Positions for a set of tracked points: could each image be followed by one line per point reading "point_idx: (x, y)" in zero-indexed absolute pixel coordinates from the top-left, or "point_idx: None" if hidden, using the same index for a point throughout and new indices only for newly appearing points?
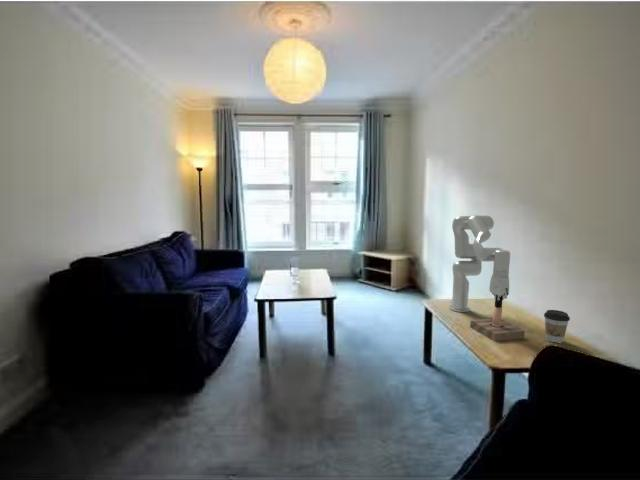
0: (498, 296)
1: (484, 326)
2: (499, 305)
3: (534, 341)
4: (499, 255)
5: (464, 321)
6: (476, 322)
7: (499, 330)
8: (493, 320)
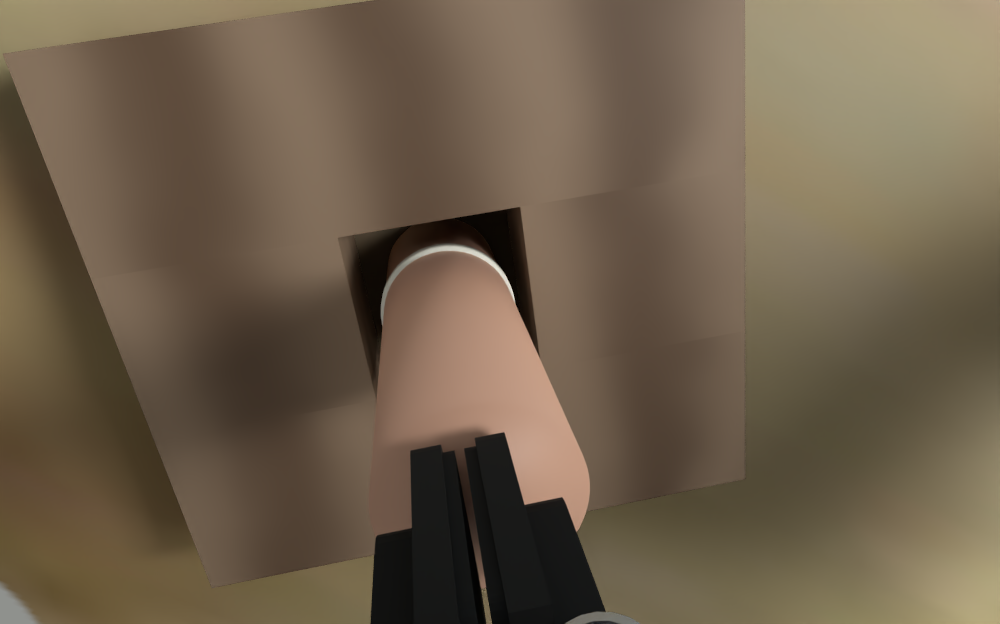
0: None
1: (386, 50)
2: (376, 556)
3: (141, 579)
4: None
5: (930, 8)
6: (610, 5)
7: (185, 230)
8: (450, 273)
